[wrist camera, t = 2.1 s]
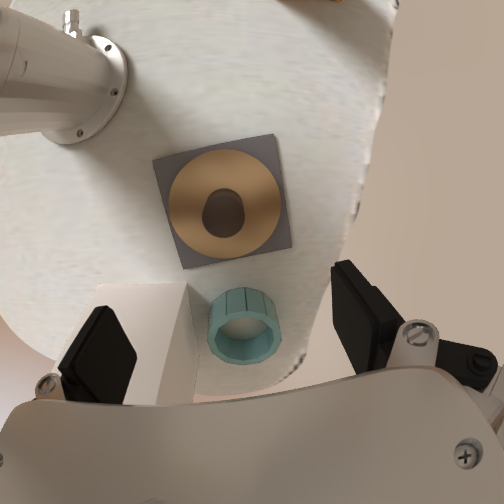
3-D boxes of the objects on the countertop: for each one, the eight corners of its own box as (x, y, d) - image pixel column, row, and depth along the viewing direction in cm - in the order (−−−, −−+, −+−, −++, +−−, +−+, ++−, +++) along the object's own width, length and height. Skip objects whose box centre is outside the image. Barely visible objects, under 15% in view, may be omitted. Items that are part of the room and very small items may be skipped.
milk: (99, 283, 30) (-3, 467, 6) (186, 282, 30) (141, 528, 7) (124, 354, 35) (77, 515, 11) (199, 356, 35) (189, 542, 12)
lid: (158, 164, 24) (144, 170, 20) (269, 139, 24) (277, 139, 20) (186, 264, 29) (179, 286, 25) (286, 243, 29) (296, 262, 25)
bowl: (202, 295, 31) (198, 318, 27) (269, 282, 31) (275, 304, 27) (219, 344, 34) (218, 369, 30) (279, 333, 34) (284, 357, 30)
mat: (153, 160, 25) (152, 161, 24) (272, 133, 25) (273, 133, 24) (184, 267, 30) (183, 269, 29) (291, 245, 29) (292, 247, 29)
